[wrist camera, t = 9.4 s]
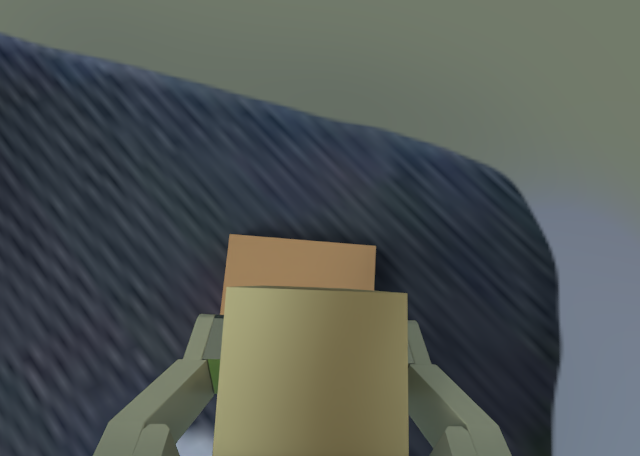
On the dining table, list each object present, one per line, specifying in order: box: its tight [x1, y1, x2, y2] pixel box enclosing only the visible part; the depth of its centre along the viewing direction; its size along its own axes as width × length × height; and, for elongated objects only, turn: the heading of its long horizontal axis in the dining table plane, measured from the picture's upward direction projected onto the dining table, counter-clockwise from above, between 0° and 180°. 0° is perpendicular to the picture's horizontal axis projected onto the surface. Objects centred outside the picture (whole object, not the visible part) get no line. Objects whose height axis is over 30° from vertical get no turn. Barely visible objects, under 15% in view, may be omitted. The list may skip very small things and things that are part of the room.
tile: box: [220, 234, 376, 315], centre depth 23 cm, size 10×10×2 cm
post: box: [212, 286, 409, 456], centre depth 11 cm, size 4×4×9 cm
